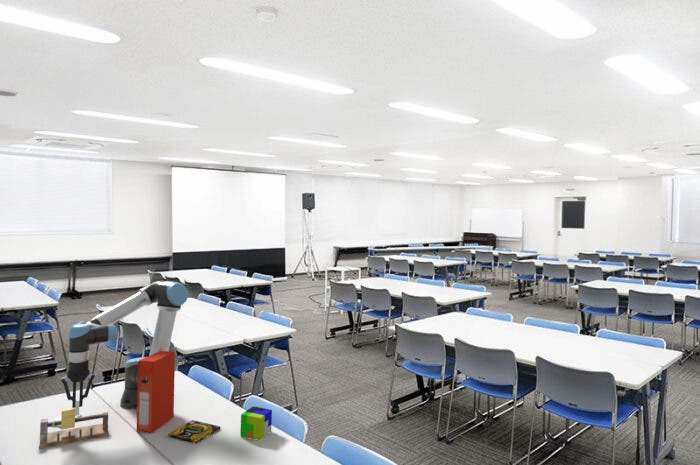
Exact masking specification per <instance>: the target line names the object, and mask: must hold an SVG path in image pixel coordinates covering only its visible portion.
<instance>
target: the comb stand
mask: <svg viewBox="0 0 700 465" xmlns="http://www.w3.org/2000/svg"><path fill="white" fill-rule="evenodd" d="M98 419H102V423H98V424H91V425H86V426H80V427H79V426H78V427H74V428H68V429H62V430H58V431H57V430H56V431H51V432H49V431H48V430H49V428H51V427H52V428H55V427H54V426H57V425H61V420H60V421H55V419H53V420H54V421H53V420H51V421H52V422H51V421H49V418H48V417H47V418H41V419H40V424H39V426H40V427H39V429H40V430H39V444H38V449H44V448H50V447H55V446H61V445H65V444H67V445H68V444H72V443H76V442H82V441H87V440H93V439H98V438H104V437H108V436H109V412H108V411H107V412H103V413H98V414H93V415H92V414H91V415H87V416H82V417H79V418H75V423H79V422H80V423H81V422H85V421H87V422H88V421H93V420H98Z"/></svg>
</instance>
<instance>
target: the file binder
mask: <svg viewBox="0 0 700 465" xmlns="http://www.w3.org/2000/svg"><path fill="white" fill-rule="evenodd" d="M149 355H150V354H149ZM149 355H148V356H145V357H146V358H143V359H141V360H139V361H138V385H137V408H136V432H137V433H148V434H153V433H154V432H156V431H157V430H158V429H159V428H161V427H163V426H164V425H165V424H166V423H167V422H169V421H171V420H172V419H173V418H174V417H175V416H174V415H175V411H174V410H175V409H174V408H175V376H176V375H175V370H176V352H175V351H170V350H169V351H159V352H157V353H155V354H152V355H150V356H149Z"/></svg>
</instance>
